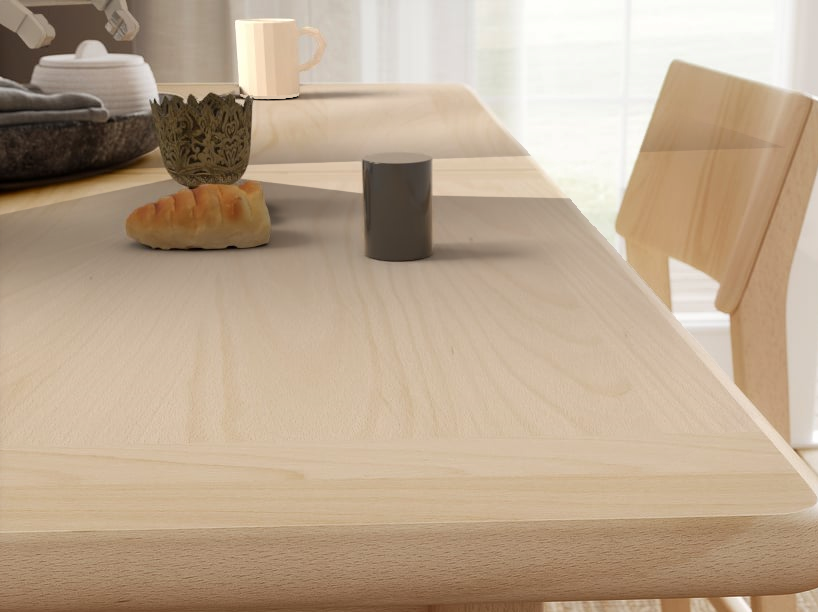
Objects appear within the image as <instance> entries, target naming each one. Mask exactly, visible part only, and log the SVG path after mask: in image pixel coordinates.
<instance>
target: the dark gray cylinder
mask: <svg viewBox="0 0 818 612" xmlns="http://www.w3.org/2000/svg"><path fill="white" fill-rule="evenodd" d="M433 174H434V173H433V157H432V156H431V155H429V154H424V153H418V152H417V153H416V152H397V151H396V152H380V153H372V154H367V155H365V156H362V157H361V176H362V177H361V181H362V182H361V183H362V184H361V185H362V213H363V215H362V217H363V251H364V255H365V256H366V257H368V258H371V259H375V260H380V261H387V262H389V261H392V262H403V261H406V262H407V261H416V260H422V259H424V258H429V257H430V256H432V255H433V254H434V205H433V204H434V200H433V199H434V197H433V195H434V192H433V191H434V187H433V186H434V185H433V181H434V180H433V179H434V178H433Z"/></svg>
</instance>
